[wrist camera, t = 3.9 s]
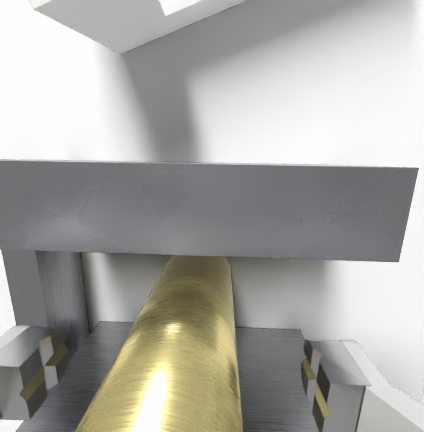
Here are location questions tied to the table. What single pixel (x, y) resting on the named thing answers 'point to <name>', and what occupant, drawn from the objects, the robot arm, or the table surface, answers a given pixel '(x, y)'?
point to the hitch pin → (176, 358)
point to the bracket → (129, 18)
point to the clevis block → (185, 245)
